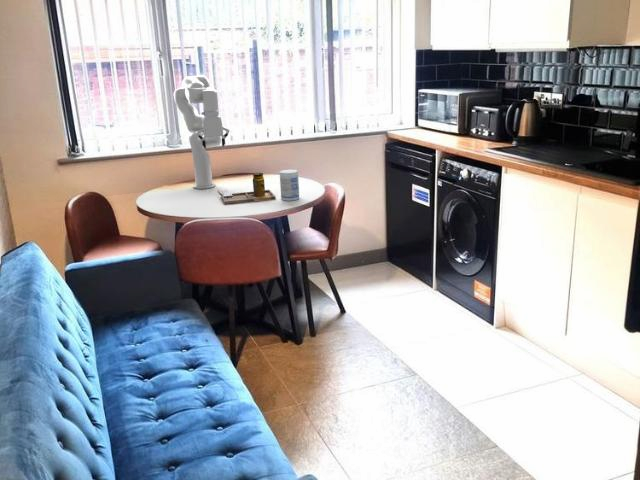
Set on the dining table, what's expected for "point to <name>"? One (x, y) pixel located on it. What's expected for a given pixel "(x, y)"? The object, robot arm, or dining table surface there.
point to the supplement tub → (289, 185)
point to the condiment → (258, 185)
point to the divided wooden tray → (247, 197)
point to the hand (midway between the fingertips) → (214, 146)
